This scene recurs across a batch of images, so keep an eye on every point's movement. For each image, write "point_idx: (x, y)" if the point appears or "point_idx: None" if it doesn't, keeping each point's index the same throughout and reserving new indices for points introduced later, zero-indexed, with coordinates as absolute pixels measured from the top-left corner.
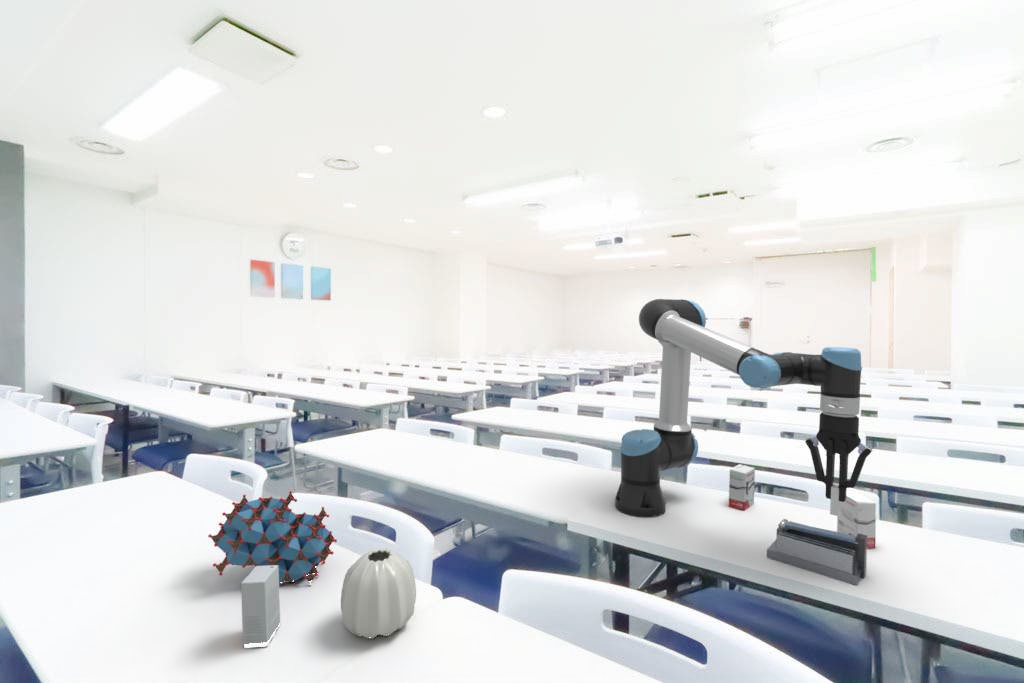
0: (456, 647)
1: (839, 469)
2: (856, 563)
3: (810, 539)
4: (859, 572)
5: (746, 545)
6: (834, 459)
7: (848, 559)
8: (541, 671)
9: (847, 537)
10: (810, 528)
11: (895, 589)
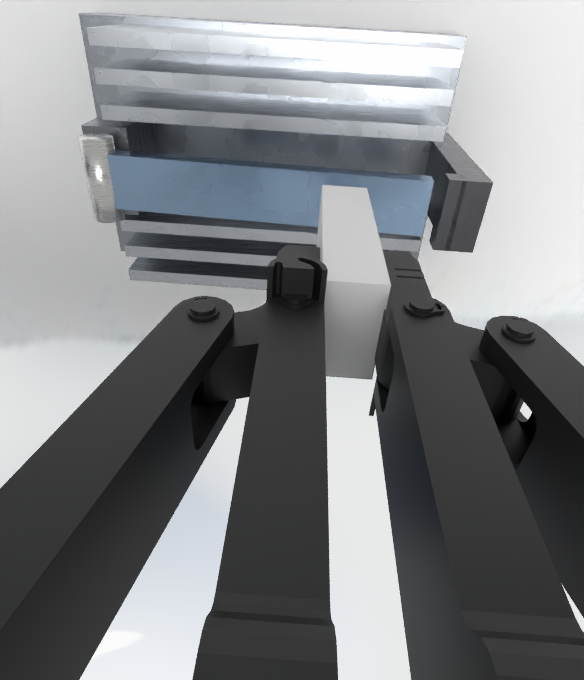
0: None
1: (394, 539)
2: (418, 156)
3: (247, 234)
4: (423, 230)
5: (32, 180)
6: (325, 556)
7: None
8: (101, 652)
9: (396, 226)
10: (229, 198)
11: (527, 203)
